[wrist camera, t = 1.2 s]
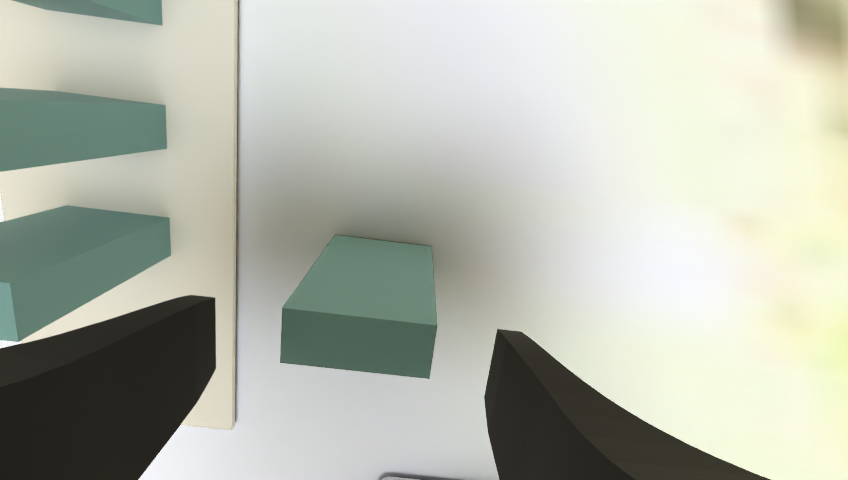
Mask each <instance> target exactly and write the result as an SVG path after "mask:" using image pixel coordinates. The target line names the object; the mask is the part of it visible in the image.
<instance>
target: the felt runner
mask: <svg viewBox="0 0 848 480" xmlns="http://www.w3.org/2000/svg"><path fill="white" fill-rule="evenodd" d="M162 23H163V26H162V25H154V24H147V23H139V22H132V21H125V20H117V19H110V18H102V17H95V16H88V15H80V14H73V13H65V12H58V11H51V10H45V9H41V8H38V7H34V6H30V5H27V4H23V3H19V2H16V1H12V0H0V88H17V89H33V90H49V91H60V92H68V93H75V94H83V95H91V96H99V97H107V98H114V99H122V100H130V101H138V102H145V103H153V104H161V105H166V133H167V149H162V150H155V151H148V152H140V153H133V154H126V155H119V156H111V157H104V158H97V159H90V160H83V161H75V162H68V163H61V164H54V165H46V166H39V167H32V168H25V169H18V170H10V171H3V172H0V193H1V200H2V207H3V214H4V221H7V220H11V219H15V218H19V217H23V216H27V215H31V214H35V213H38V212H42V211H46V210H50V209H54V208H58V207H62V206H66V205H68V206H77V207H85V208H94V209H102V210H110V211H119V212H127V213H136V214H144V215H152V216H161V217H169V218H170V243H171V256H169V257H168V258H166V259H164V260H162V261H161V262H159V263H157V264H155V265H153V266H152V267H150V268H148V269H146V270H145V271H143V272H141V273H139V274H138V275H136V276H134V277H132V278H130V279H129V280H127V281H125V282H123V283H122V284H120V285H118V286H116V287H114V288H113V289H111V290H109V291H107V292H106V293H104V294H102V295H100V296H99V297H97V298H95V299H93V300H91V301H90V302H88V303H86V304H84V305H83V306H81V307H79V308H77V309H76V310H74V311H72V312H70V313H68V314H67V315H65V316H63V317H61V318H60V319H58V320H56V321H54V322H53V323H51V324H49V325H47V326H45V327H44V328H42V329H40V330H38V331H37V332H35V333H33V334H31V335H30V336H28V337H26V338H24V339H22V344H23V343H27V342H31V341H35V340H39V339H43V338H47V337H51V336H54V335H58V334H62V333H65V332H68V331H72V330H75V329H78V328H82V327H85V326H89V325H92V324H95V323H99V322H102V321H105V320H109V319H112V318H115V317H118V316H121V315H124V314H127V313H130V312H133V311H136V310H139V309H142V308H145V307H148V306H151V305H155V304H158V303H161V302H164V301H167V300H171V299H174V298H178V297H182V296H187V295H197V296H206V297H215V309H216V370H215V372H214V373H213V375H212V377H211V379H210V381H209V383H208V385H207V386H206V388H205V390H204V392H203V393H202V395H201V397H200V398H199V400H198V402H197V403H196V405H195V406H194V407H193V409H192V410H191V411H190V413H189V414H188V415H187V417H186V418H185V419H184V421H183V422H182V423H181V425H188V426H198V427H208V428H218V429H228V430H232V429H233V428H234V426H235V324H236V179H237V33H238V0H162Z"/></svg>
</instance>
